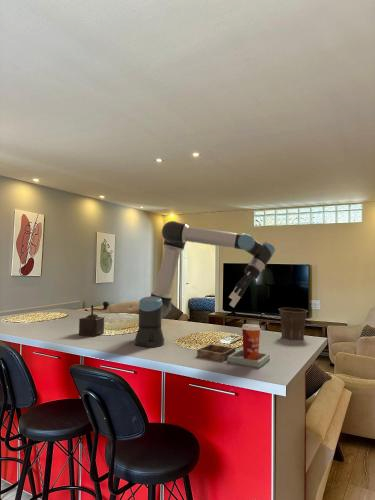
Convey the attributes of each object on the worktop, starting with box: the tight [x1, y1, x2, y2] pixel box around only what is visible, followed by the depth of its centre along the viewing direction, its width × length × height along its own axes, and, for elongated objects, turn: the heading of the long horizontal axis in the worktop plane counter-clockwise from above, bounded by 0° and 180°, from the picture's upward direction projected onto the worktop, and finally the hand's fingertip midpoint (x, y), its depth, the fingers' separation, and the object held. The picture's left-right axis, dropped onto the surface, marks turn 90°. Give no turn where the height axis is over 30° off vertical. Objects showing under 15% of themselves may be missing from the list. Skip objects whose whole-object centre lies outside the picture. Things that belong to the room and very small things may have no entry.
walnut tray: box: [196, 343, 236, 362], centre depth 156 cm, size 13×13×3 cm
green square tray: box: [227, 349, 271, 369], centre depth 148 cm, size 14×14×2 cm
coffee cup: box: [241, 323, 262, 361], centre depth 148 cm, size 8×8×15 cm
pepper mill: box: [78, 301, 110, 338], centre depth 197 cm, size 16×11×18 cm
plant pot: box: [278, 307, 309, 341], centre depth 198 cm, size 16×16×16 cm
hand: (231, 302), depth 169 cm, fingers open, 13 cm apart
